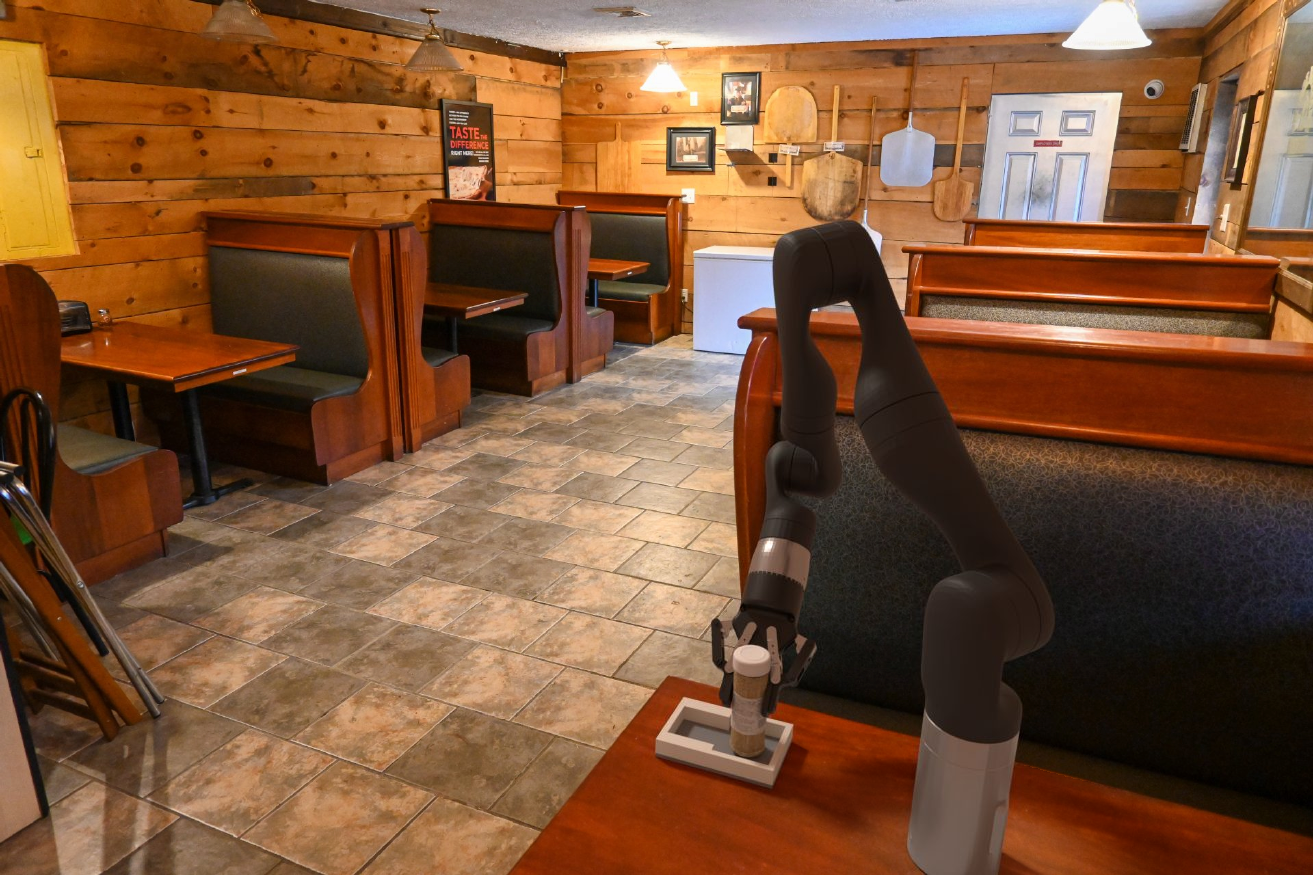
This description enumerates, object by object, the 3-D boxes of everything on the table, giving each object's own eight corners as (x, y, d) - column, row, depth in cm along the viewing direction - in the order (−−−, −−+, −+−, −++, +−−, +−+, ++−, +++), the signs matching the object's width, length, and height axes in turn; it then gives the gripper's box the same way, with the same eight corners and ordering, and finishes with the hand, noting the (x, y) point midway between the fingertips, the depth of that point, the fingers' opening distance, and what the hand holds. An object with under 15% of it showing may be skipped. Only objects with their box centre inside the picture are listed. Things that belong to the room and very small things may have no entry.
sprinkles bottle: (747, 731, 112) (752, 639, 108) (772, 749, 108) (779, 654, 104) (721, 745, 109) (725, 651, 105) (746, 764, 106) (752, 667, 102)
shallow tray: (792, 741, 111) (793, 724, 111) (772, 788, 103) (773, 770, 102) (683, 712, 117) (683, 696, 116) (655, 756, 108) (655, 738, 107)
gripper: (718, 559, 112) (683, 689, 104) (828, 580, 107) (799, 718, 99) (729, 580, 118) (696, 704, 111) (833, 600, 113) (806, 732, 106)
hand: (745, 710), depth 105 cm, fingers closed on sprinkles bottle, 4 cm apart
